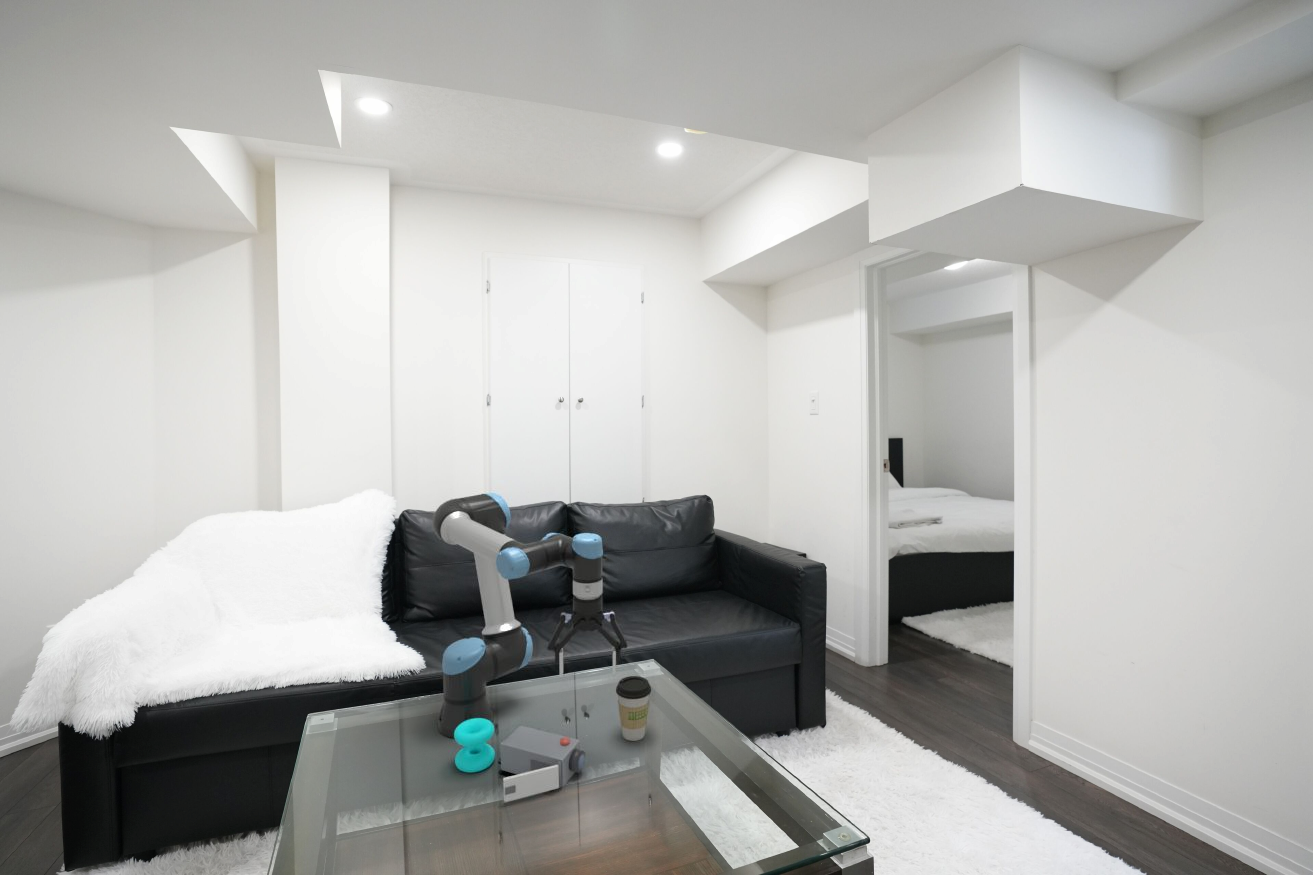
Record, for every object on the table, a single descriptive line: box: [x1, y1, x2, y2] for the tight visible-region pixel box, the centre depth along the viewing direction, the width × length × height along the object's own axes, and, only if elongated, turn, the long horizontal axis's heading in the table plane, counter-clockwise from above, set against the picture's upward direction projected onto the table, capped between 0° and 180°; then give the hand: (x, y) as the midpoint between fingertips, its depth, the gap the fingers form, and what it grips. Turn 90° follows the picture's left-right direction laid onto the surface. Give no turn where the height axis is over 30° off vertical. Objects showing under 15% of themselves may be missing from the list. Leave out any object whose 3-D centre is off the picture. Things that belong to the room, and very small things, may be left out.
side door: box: [502, 761, 562, 803], centre depth 151 cm, size 14×2×6 cm, turn 113°
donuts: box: [453, 718, 496, 773], centre depth 164 cm, size 10×10×10 cm
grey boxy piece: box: [499, 725, 586, 788], centre depth 162 cm, size 20×9×8 cm, turn 68°
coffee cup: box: [615, 675, 652, 742], centre depth 177 cm, size 10×10×15 cm
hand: (587, 673), depth 164 cm, fingers open, 13 cm apart
